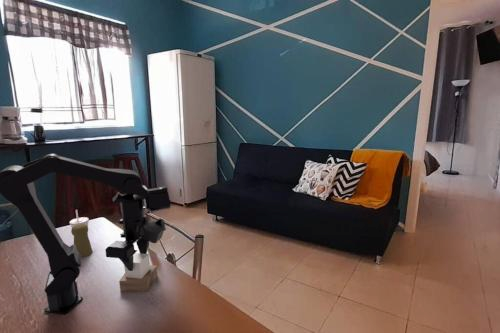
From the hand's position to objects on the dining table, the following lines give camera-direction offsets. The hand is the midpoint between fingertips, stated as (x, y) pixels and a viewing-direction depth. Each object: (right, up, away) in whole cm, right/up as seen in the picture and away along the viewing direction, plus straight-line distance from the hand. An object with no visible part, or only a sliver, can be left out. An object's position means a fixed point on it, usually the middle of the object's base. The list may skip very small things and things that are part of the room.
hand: (137, 264), depth 84 cm
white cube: (0, -3, 0) cm, 3 cm away
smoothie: (-32, -1, +27) cm, 42 cm away
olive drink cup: (-27, -3, +19) cm, 33 cm away
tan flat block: (0, -7, +1) cm, 7 cm away
